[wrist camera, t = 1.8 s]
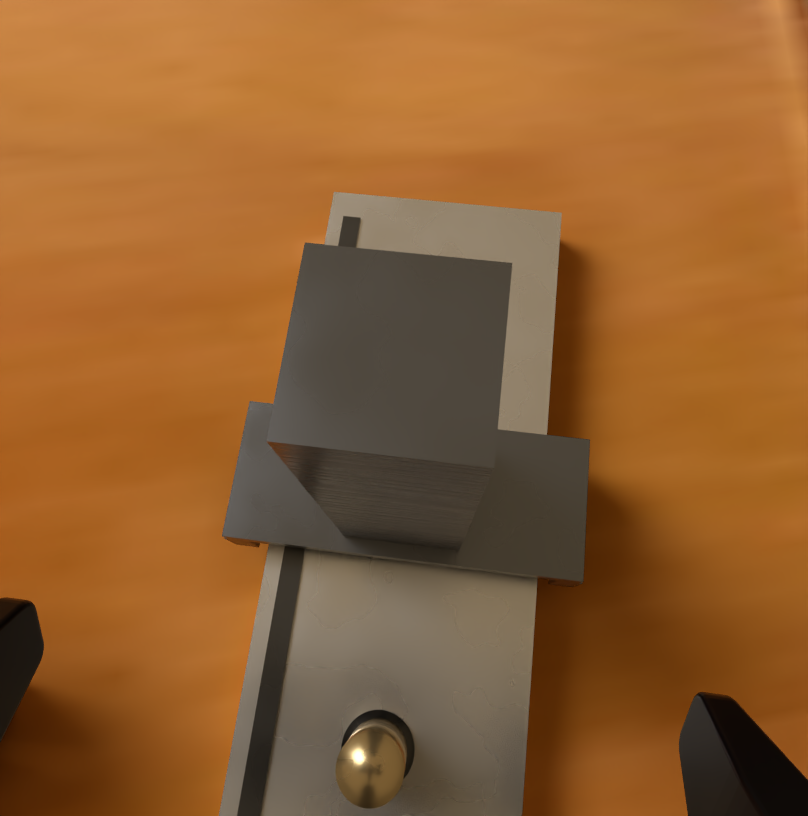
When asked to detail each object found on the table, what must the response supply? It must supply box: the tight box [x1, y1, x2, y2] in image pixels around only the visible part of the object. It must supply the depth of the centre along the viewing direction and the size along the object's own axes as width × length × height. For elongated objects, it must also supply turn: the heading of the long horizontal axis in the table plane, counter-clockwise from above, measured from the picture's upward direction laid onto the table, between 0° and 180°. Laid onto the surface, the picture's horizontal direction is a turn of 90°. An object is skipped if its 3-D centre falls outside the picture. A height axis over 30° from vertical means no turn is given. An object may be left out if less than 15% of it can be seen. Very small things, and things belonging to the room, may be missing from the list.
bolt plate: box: [219, 192, 562, 816], centre depth 20 cm, size 21×8×4 cm, turn 173°
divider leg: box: [222, 243, 590, 587], centre depth 16 cm, size 4×10×12 cm, turn 83°
